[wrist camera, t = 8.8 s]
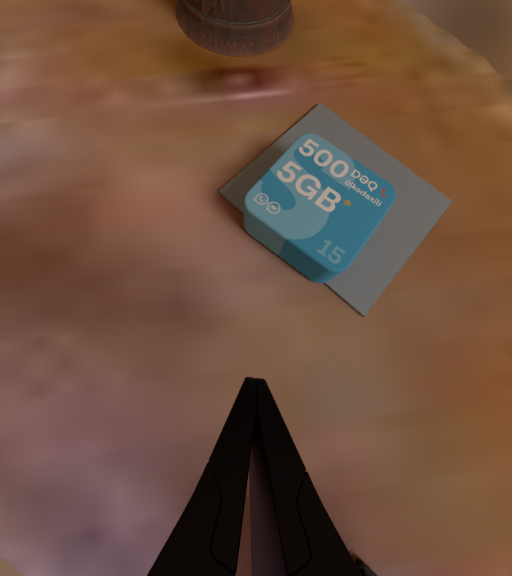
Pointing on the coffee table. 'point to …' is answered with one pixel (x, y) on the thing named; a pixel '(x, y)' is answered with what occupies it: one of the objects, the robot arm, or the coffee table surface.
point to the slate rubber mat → (393, 227)
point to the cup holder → (236, 25)
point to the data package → (316, 207)
